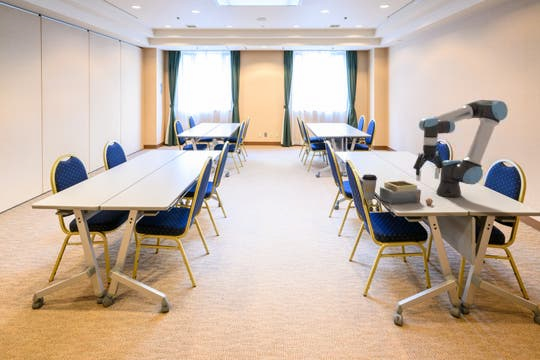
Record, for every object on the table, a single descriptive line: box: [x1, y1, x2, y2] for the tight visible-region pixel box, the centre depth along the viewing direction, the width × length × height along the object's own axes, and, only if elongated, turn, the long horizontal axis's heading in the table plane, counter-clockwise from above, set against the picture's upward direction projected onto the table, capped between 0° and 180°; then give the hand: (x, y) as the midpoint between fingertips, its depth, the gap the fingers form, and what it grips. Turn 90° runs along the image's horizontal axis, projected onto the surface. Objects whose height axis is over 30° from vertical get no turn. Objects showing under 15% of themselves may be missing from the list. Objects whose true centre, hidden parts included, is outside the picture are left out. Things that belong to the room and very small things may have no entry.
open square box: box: [378, 180, 422, 206], centre depth 272 cm, size 20×14×11 cm
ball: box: [425, 197, 434, 206], centre depth 264 cm, size 4×4×4 cm
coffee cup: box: [361, 174, 378, 201], centre depth 276 cm, size 9×9×15 cm
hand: (427, 179), depth 261 cm, fingers open, 13 cm apart
